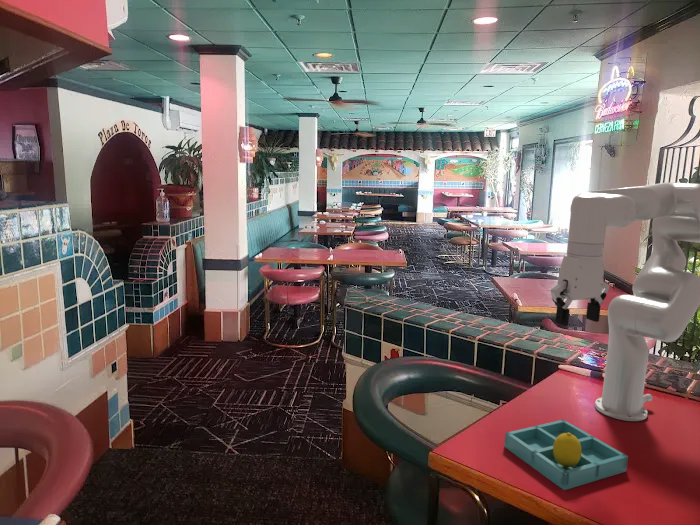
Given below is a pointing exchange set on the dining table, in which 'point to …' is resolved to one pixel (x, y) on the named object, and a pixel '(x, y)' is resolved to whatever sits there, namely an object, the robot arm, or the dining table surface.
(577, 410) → the dining table surface
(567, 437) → the lemon
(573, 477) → the square compartment tray
